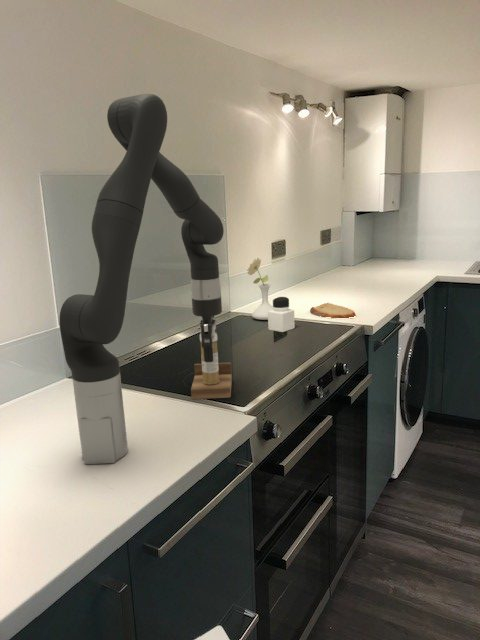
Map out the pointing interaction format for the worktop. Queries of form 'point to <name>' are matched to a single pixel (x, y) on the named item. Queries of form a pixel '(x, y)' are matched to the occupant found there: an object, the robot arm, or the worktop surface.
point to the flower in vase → (265, 306)
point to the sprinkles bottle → (210, 364)
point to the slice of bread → (332, 311)
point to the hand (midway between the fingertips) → (210, 356)
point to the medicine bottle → (281, 315)
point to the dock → (212, 391)
